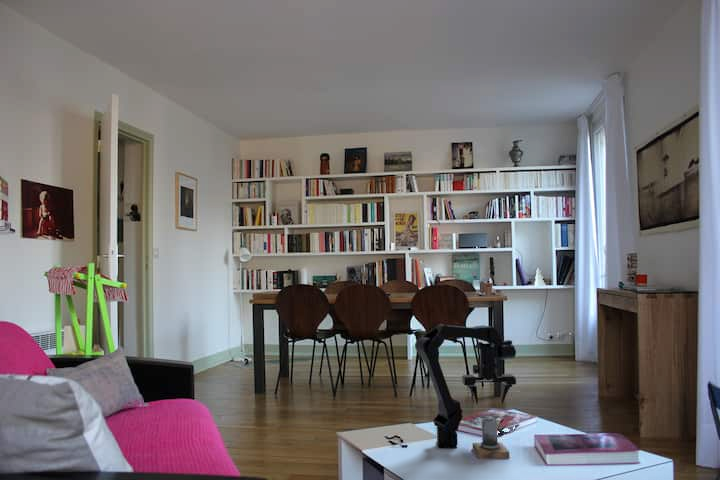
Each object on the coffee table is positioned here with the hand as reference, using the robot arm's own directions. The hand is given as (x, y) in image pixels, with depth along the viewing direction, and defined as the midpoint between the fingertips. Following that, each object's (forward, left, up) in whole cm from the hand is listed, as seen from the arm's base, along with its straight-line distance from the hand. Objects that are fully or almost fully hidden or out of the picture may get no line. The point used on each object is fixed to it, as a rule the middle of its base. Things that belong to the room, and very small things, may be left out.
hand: (489, 403), depth 202 cm
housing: (-4, -14, -11) cm, 18 cm away
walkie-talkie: (+8, +13, -14) cm, 21 cm away
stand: (-3, -14, -13) cm, 20 cm away
